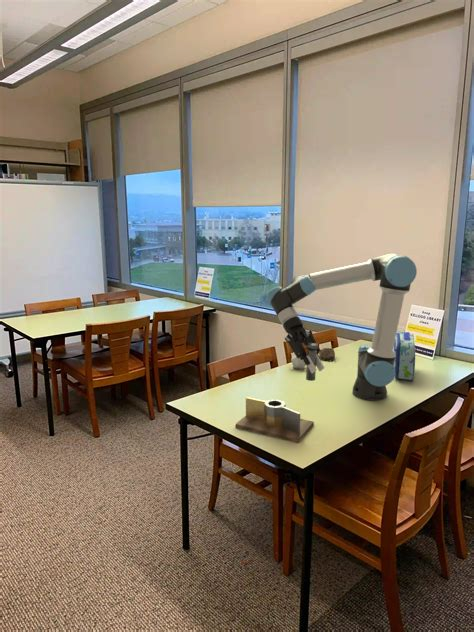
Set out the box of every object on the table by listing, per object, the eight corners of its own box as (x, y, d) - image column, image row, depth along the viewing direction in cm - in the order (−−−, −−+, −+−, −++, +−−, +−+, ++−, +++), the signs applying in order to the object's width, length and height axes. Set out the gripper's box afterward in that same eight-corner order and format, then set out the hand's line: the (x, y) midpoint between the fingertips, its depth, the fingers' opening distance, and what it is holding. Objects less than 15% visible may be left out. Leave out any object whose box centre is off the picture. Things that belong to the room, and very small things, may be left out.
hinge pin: (318, 378, 177) (319, 344, 174) (314, 382, 173) (315, 346, 170) (307, 376, 179) (308, 342, 176) (303, 379, 175) (304, 345, 172)
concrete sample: (320, 354, 264) (320, 346, 263) (337, 356, 260) (337, 348, 259) (315, 360, 254) (316, 351, 253) (333, 362, 250) (334, 353, 249)
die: (298, 372, 235) (309, 358, 234) (286, 362, 238) (296, 348, 237) (301, 373, 243) (312, 359, 242) (289, 363, 246) (299, 349, 245)
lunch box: (391, 365, 243) (394, 328, 239) (412, 367, 240) (415, 329, 235) (391, 381, 219) (394, 340, 215) (415, 384, 216) (418, 342, 211)
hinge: (307, 425, 170) (307, 405, 168) (299, 434, 163) (299, 414, 161) (250, 412, 182) (250, 394, 180) (240, 420, 174) (240, 401, 173)
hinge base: (313, 425, 174) (313, 421, 173) (298, 442, 160) (298, 439, 160) (254, 412, 186) (254, 408, 186) (235, 427, 172) (235, 423, 172)
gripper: (300, 323, 189) (327, 371, 179) (270, 328, 179) (297, 379, 170) (310, 313, 184) (338, 362, 174) (279, 318, 174) (307, 370, 165)
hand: (318, 370), depth 172 cm, fingers closed on hinge pin, 4 cm apart
